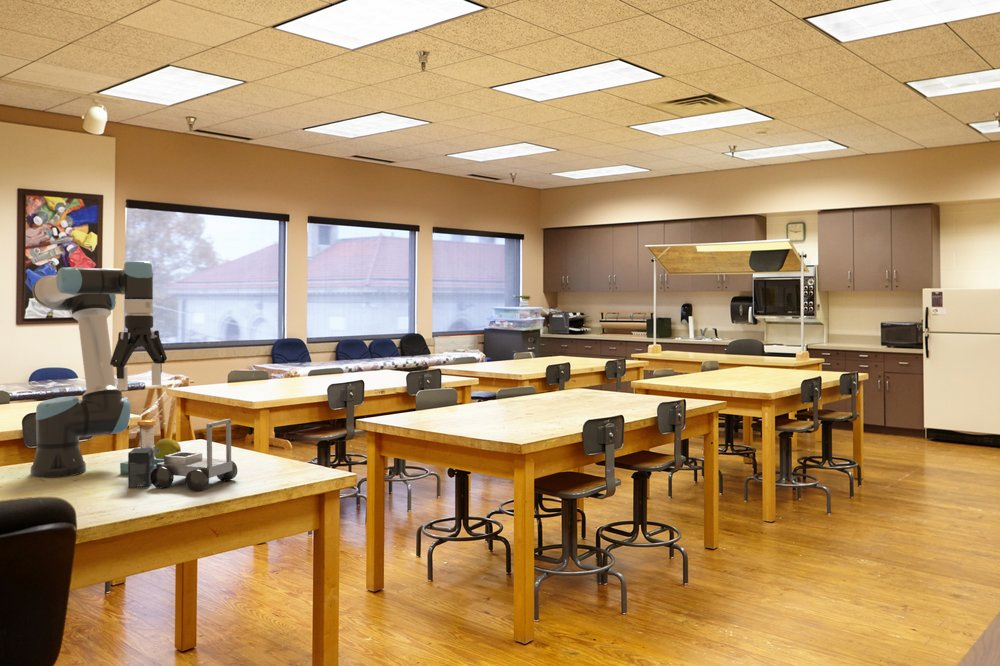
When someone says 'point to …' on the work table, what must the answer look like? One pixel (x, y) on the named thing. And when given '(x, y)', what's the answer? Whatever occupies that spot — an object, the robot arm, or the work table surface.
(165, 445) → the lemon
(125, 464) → the tray
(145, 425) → the clear tube with cap
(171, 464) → the trolley
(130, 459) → the box
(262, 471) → the work table surface
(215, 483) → the work table surface
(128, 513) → the work table surface
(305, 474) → the work table surface
